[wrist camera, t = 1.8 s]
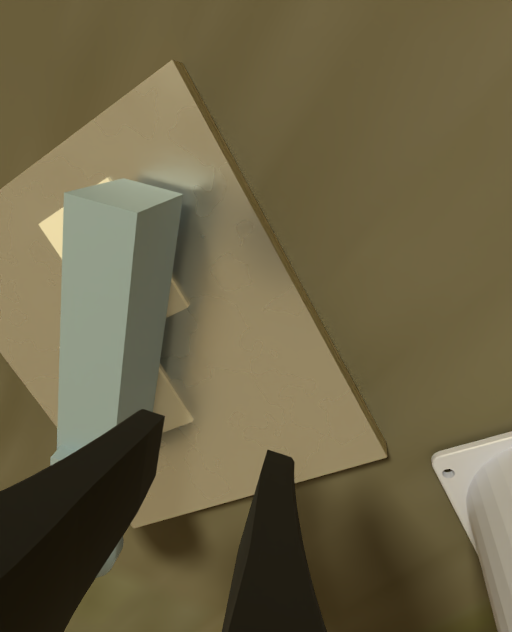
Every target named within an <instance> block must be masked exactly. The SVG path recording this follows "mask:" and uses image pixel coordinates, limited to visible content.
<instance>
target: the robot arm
mask: <svg viewBox="0 0 512 632" xmlns="http://www.w3.org/2000/svg"><path fill="white" fill-rule="evenodd" d="M164 419H165V416H163V415H160V414H157V413H154V412H151V411H148V410H145V409H141V410H139V411H137V412H136V413H134V414H133V415H131V416H130V417H128V418H127V419H125V420H124V421H122V422H121V423H119V424H118V425H116V426H115V427H113V428H112V429H110V430H109V431H107V432H106V433H104V434H103V435H101V436H100V437H98V438H96V439H95V440H93V441H92V442H90V443H88V444H87V445H85V446H83V447H82V448H80V449H79V450H77V451H75V452H74V453H72V454H70V455H69V456H67V457H65V458H64V459H62V460H60V461H58V462H56V463H55V464H53V465H51V466H49V467H47V468H45V469H44V470H42V471H40V472H38V473H36V474H35V475H33V476H31V477H29V478H27V479H25V480H23V481H21V482H19V483H17V484H15V485H13V486H11V487H9V488H7V489H4V490H2V491H0V632H64V630H65V628H66V626H67V625H68V623H69V621H70V619H71V617H72V615H73V613H74V612H75V610H76V608H77V607H78V605H79V603H80V602H81V600H82V598H83V597H84V595H85V593H86V592H87V590H88V589H89V587H90V586H91V584H92V583H93V581H94V580H95V578H96V576H97V575H98V573H99V572H100V570H101V569H102V567H103V566H104V564H105V563H106V561H107V559H108V558H109V556H110V555H111V553H112V552H113V550H114V549H115V547H116V546H117V544H118V543H119V541H120V539H121V538H122V536H123V535H124V533H125V532H126V530H127V528H128V527H129V525H130V524H131V522H132V521H133V519H134V517H135V516H136V514H137V513H138V511H139V509H140V507H141V505H142V503H143V501H144V499H145V497H146V495H147V493H148V491H149V489H150V487H151V485H152V482H153V480H154V478H155V476H156V471H157V464H158V458H159V451H160V445H161V438H162V432H163V426H164ZM431 461H432V466H433V469H434V471H435V473H436V474H437V476H438V478H439V480H440V482H441V484H442V486H443V488H444V490H445V492H446V494H447V496H448V498H449V500H450V502H451V504H452V506H453V508H454V510H455V512H456V513H457V515H458V517H459V519H460V521H461V523H462V525H463V527H464V529H465V531H466V533H467V535H468V537H469V539H470V541H471V543H472V545H473V547H474V549H475V550H476V552H477V554H478V556H479V560H480V564H481V568H482V572H483V576H484V580H485V584H486V588H487V592H488V595H489V599H490V603H491V607H492V611H493V615H494V619H495V623H496V627H497V630H498V632H512V431H511V432H508V433H504V434H500V435H497V436H493V437H490V438H486V439H482V440H479V441H475V442H471V443H468V444H464V445H460V446H457V447H453V448H449V449H446V450H442V451H438V452H436V453H435V454H434V455H433V456H432V458H431ZM294 465H295V462H294V460H293V459H292V457H289V456H286V455H283V454H280V453H277V452H274V451H271V450H267V453H266V456H265V459H264V463H263V466H262V469H261V473H260V476H259V480H258V483H257V487H256V490H255V493H254V497H253V500H252V504H251V507H250V511H249V514H248V518H247V521H246V525H245V528H244V532H243V535H242V538H241V542H240V545H239V549H238V554H237V559H236V564H235V569H234V574H233V579H232V584H231V589H230V594H229V599H228V604H227V609H226V614H225V619H224V624H223V629H222V632H327V630H326V628H325V625H324V622H323V618H322V615H321V612H320V609H319V605H318V602H317V599H316V595H315V592H314V588H313V584H312V580H311V576H310V572H309V568H308V564H307V560H306V555H305V551H304V546H303V541H302V535H301V530H300V524H299V518H298V512H297V504H296V495H295V482H294ZM446 469H451V470H452V471H451V472H444V470H446Z"/></svg>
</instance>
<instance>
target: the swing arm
mask: <svg viewBox="0 0 512 632" xmlns="http://www.w3.org/2000/svg"><path fill="white" fill-rule="evenodd" d="M182 200H183V194H181V193H177V192H174V191H170V190H166V189H162V188H159V187H155V186H151V185H147V184H144V183H140V182H136V181H132V180H129V179H125V178H123V179H118V180H114V181H110V182H106V183H102V184H98V185H94V186H89V187H85V188H81V189H77V190H73V191H69V192H65V193H64V209H63V246H62V282H61V319H60V355H59V391H58V428H57V451H56V452H55V453H54V454H53V455H52V456H51V465H53V464H55V463H56V462H58V461H60V460H62V459H64V458H65V457H67V456H69V455H70V454H72V453H74V452H75V451H77V450H79V449H80V448H82V447H83V446H85V445H87V444H88V443H90V442H92V441H93V440H95V439H96V438H98V437H100V436H101V435H103V434H104V433H106V432H107V431H109V430H110V429H112V428H113V427H115V426H116V425H118V424H119V423H121V422H122V421H124V420H125V419H127V418H128V417H130V416H131V415H133V414H134V413H136V412H137V411H139V410H141V409H145V410H148V411H151V412H153V407H154V400H155V393H156V386H157V379H158V372H159V364H160V357H161V350H162V343H163V336H164V329H165V322H166V314H167V307H168V300H169V293H170V286H171V279H172V272H173V265H174V257H175V250H176V243H177V236H178V229H179V222H180V215H181V207H182ZM122 548H123V536H122V538H121V539H120V541H119V543H118V544H117V546H116V547H115V549H114V550H113V552H112V553H111V555H110V556H109V558H108V559H107V561H106V563H105V564H104V566H103V567H102V569H101V570H100V572H99V573H98V575H97V576H96V578H97V577H100V576H103V575H105V574H106V573H108V572H109V571H110V569H111V568H112V566H113V565H114V563H115V561H116V559H117V557H118V556H119V554H120V552H121V550H122Z"/></svg>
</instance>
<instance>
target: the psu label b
mask: <svg viewBox="0 0 512 632" xmlns="http://www.w3.org/2000/svg"><path fill="white" fill-rule="evenodd" d="M59 348H60V347H59ZM153 412H154V413H157V414H160V415H163V416H165V419H164V426H163V432H166V431H169V430H171V429H174V428H177V427H179V426H182V425H185V424H187V423H190V422H192V421H193V420H194V419H193V417H192V416H191V414H190V413H189V411H188V410H187V408H186V407H185V405H184V404H183V402H182V401H181V399H180V398H179V396H178V395H177V393H176V391H175V390H174V388H173V387H172V385H171V384H170V382H169V381H168V379H167V378H166V376H165V375H164V373H163V372H162V370H161V369H160V367H159V372H158V379H157V386H156V393H155V400H154V407H153ZM163 432H162V433H163Z"/></svg>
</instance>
